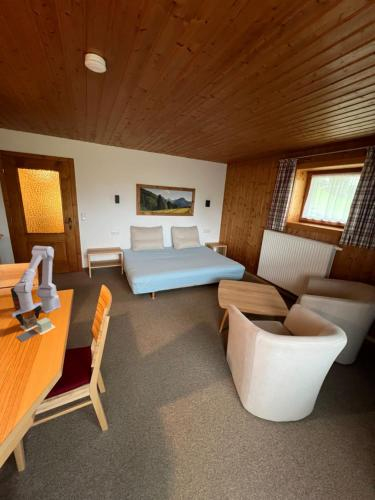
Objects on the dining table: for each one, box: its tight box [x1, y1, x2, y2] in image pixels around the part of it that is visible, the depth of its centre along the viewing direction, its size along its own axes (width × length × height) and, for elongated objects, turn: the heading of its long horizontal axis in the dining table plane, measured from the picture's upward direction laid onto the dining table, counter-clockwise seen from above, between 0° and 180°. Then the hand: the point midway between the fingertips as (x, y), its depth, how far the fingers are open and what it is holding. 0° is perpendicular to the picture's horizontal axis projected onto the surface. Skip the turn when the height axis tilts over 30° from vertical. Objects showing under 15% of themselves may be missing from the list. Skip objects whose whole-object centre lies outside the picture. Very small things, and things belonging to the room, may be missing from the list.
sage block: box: [36, 317, 52, 332], centre depth 116 cm, size 5×5×5 cm
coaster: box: [16, 329, 38, 343], centre depth 110 cm, size 7×7×1 cm
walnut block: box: [23, 314, 38, 329], centre depth 117 cm, size 5×5×5 cm
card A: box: [19, 325, 38, 332], centre depth 118 cm, size 8×8×1 cm
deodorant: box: [10, 286, 21, 312], centre depth 132 cm, size 6×6×15 cm
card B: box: [33, 323, 56, 335], centre depth 116 cm, size 8×8×1 cm
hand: (30, 321), depth 117 cm, fingers open, 7 cm apart
